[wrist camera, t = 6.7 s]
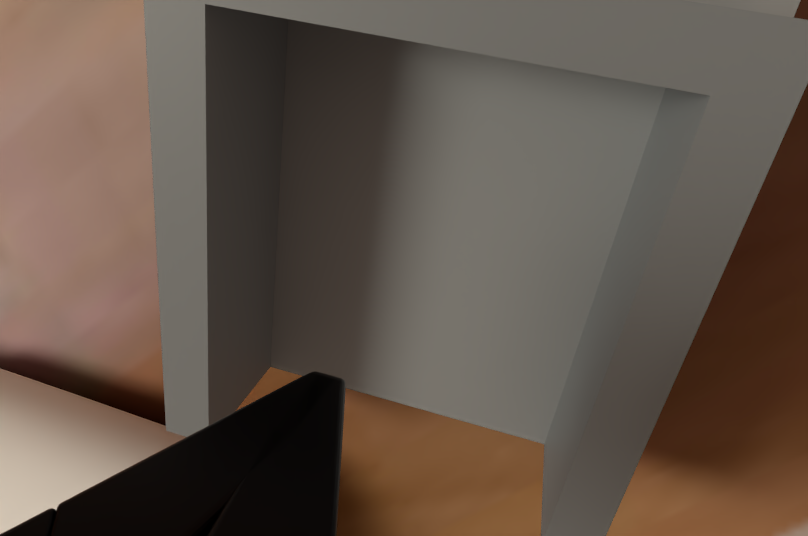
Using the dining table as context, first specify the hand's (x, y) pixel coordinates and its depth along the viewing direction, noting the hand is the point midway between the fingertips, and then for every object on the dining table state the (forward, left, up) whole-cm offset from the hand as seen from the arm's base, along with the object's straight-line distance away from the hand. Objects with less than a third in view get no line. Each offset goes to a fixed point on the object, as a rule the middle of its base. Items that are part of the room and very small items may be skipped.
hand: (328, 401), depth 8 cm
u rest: (0, 0, -8) cm, 8 cm away
